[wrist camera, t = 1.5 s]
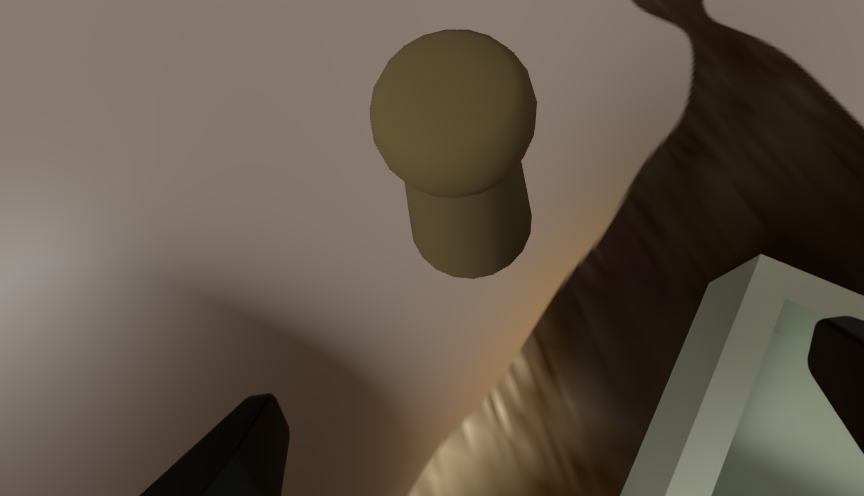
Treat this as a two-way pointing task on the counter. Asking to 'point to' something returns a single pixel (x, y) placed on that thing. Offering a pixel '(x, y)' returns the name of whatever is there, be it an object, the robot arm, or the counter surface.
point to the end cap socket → (752, 395)
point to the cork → (459, 147)
